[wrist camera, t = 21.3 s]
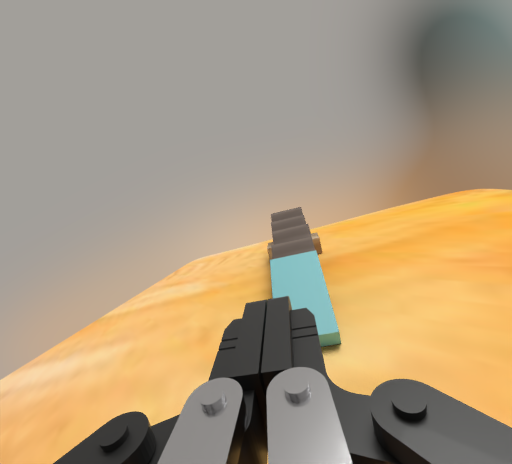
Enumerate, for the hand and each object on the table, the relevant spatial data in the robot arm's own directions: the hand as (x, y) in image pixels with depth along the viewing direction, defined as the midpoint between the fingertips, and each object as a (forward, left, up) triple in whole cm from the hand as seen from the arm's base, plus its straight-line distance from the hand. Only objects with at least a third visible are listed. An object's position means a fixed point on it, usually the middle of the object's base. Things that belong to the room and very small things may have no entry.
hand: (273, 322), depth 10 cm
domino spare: (+4, +11, -9) cm, 15 cm away
